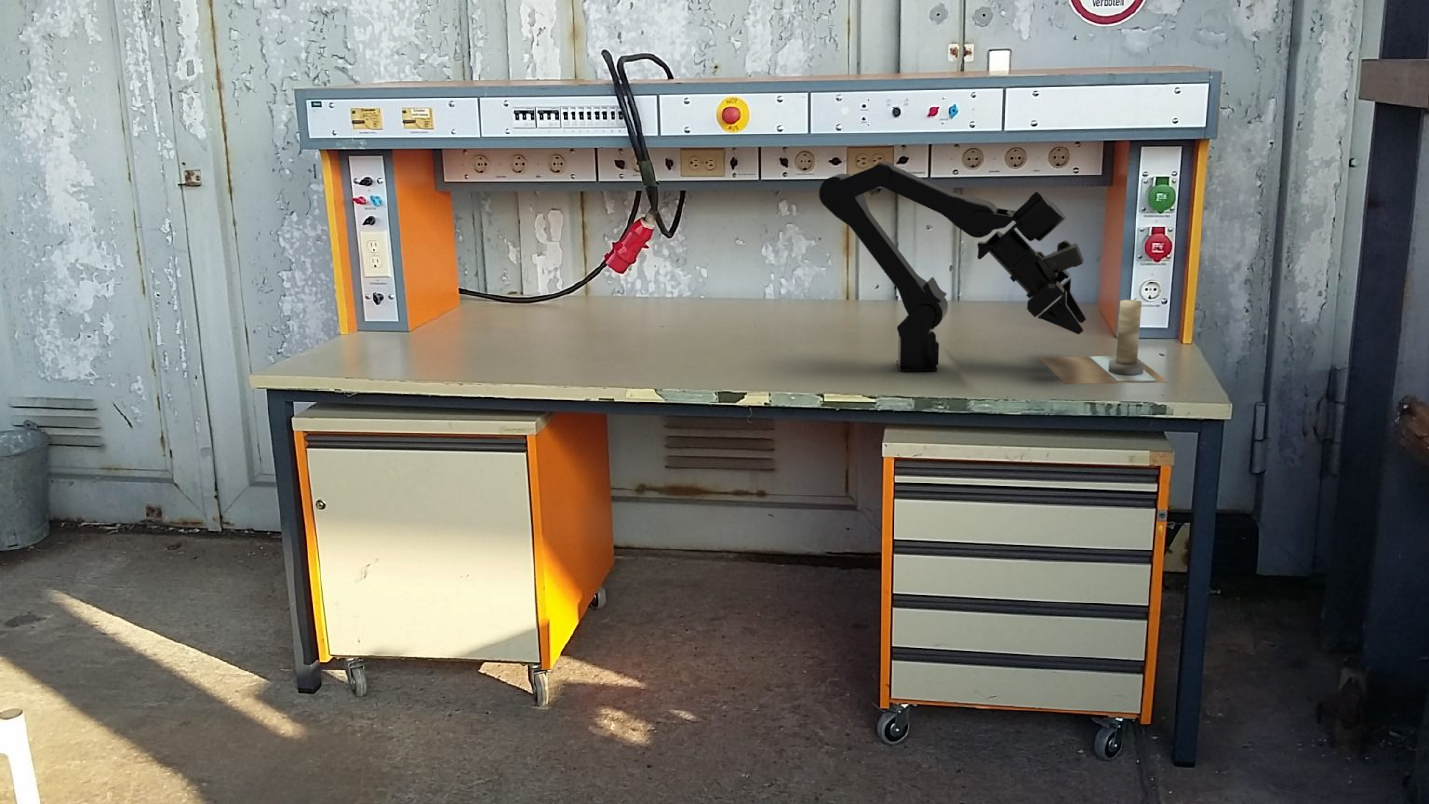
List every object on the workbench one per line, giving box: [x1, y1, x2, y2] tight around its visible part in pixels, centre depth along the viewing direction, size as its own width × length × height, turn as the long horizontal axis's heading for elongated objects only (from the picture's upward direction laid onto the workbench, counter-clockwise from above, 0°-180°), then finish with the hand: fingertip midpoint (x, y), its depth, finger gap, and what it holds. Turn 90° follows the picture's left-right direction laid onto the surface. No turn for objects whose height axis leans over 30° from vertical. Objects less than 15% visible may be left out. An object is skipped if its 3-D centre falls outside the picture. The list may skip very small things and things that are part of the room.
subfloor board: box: [1039, 355, 1169, 385], centre depth 211 cm, size 17×18×1 cm
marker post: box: [1108, 299, 1145, 375], centre depth 206 cm, size 6×6×12 cm
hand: (1082, 326), depth 208 cm, fingers open, 9 cm apart
